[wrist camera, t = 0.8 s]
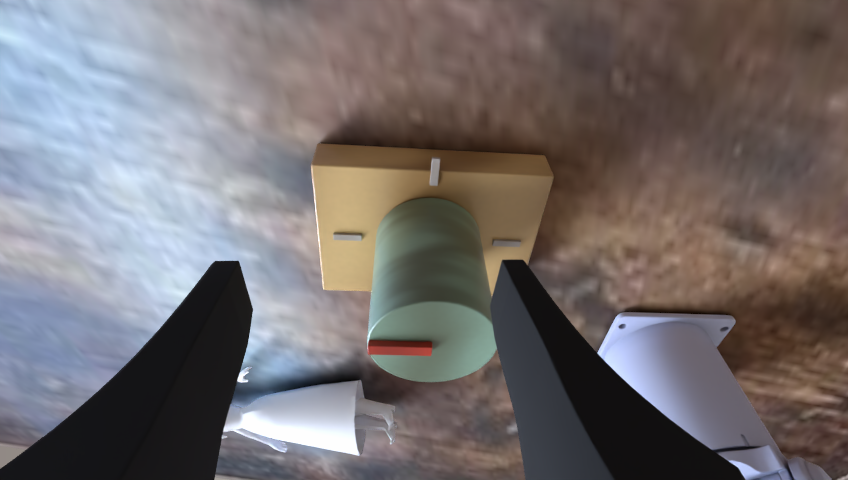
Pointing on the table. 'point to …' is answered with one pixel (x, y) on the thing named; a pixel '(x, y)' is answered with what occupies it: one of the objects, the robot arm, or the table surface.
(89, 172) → the table surface
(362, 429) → the woman figurine
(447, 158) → the tan flat wooden board
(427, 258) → the mint green cylinder
